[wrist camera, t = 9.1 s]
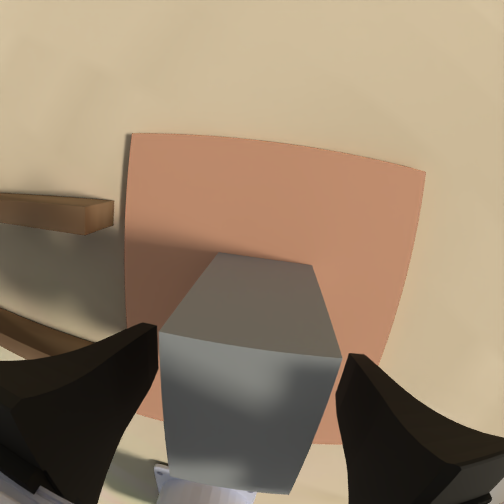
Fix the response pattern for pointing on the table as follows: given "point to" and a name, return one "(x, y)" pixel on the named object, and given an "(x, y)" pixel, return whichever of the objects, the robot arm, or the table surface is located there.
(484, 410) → the table surface
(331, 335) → the blank block
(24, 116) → the table surface
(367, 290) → the mat
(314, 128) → the table surface
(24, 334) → the frame
